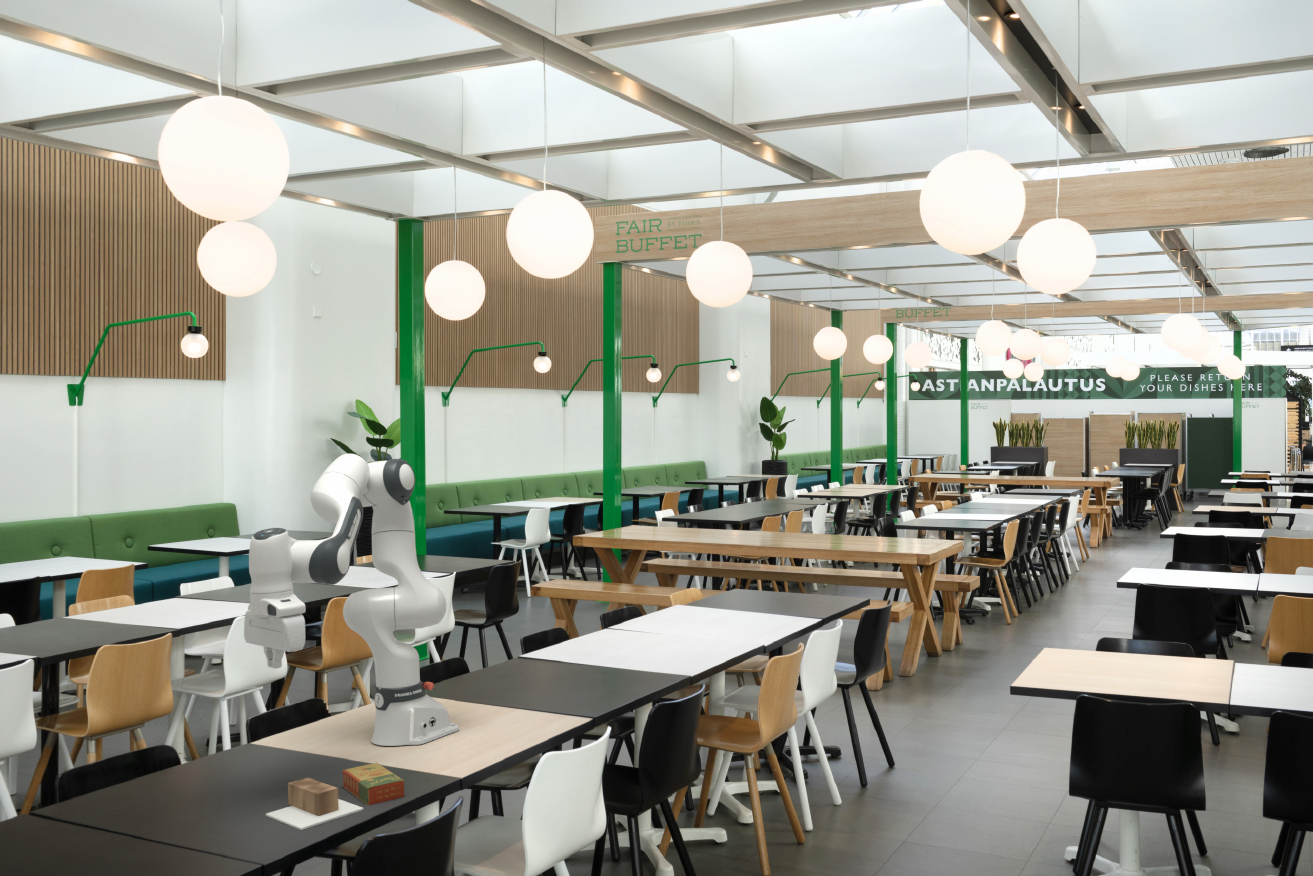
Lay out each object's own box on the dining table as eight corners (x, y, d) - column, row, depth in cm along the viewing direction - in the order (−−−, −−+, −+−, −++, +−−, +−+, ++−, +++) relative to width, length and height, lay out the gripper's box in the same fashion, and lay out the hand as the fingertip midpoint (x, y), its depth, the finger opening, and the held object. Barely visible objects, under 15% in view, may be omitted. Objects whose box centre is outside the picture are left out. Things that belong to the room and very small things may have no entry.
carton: (378, 780, 234) (378, 761, 234) (405, 798, 221) (405, 778, 221) (342, 788, 230) (341, 769, 230) (367, 807, 216) (367, 786, 217)
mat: (327, 796, 223) (327, 795, 223) (363, 810, 214) (363, 808, 214) (265, 815, 213) (265, 813, 213) (301, 830, 203) (301, 828, 203)
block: (306, 777, 221) (337, 788, 213) (307, 798, 221) (338, 810, 213) (287, 783, 218) (318, 794, 210) (288, 804, 218) (318, 816, 210)
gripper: (235, 602, 230) (237, 664, 230) (282, 610, 216) (284, 676, 216) (262, 598, 234) (264, 659, 234) (309, 605, 221) (312, 670, 221)
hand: (274, 667), depth 225 cm, fingers closed
